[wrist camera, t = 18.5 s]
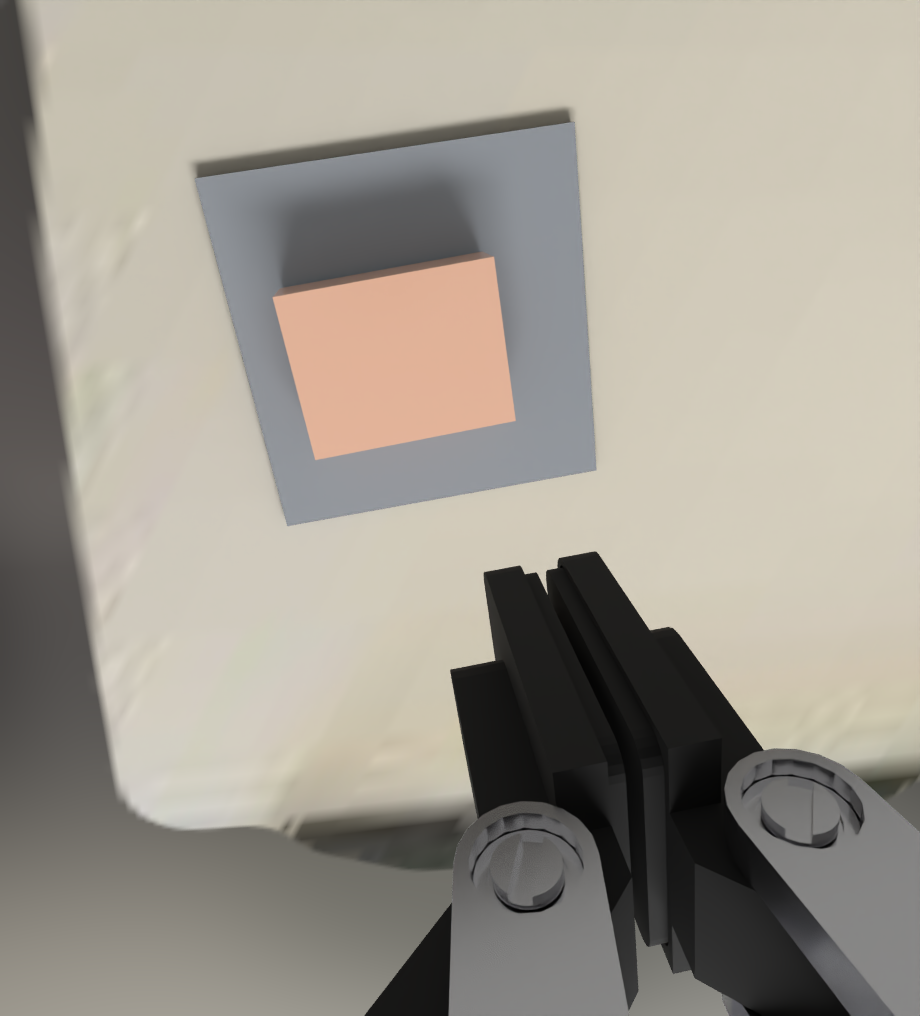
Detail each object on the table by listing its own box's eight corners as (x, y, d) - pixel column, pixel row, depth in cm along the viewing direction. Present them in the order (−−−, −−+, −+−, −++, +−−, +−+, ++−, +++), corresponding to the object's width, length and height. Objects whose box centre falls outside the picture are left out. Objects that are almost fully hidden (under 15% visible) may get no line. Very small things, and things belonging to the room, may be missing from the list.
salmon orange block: (494, 256, 29) (272, 297, 28) (515, 420, 32) (315, 460, 31) (481, 250, 32) (280, 287, 31) (502, 401, 35) (319, 436, 34)
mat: (571, 122, 31) (574, 121, 30) (593, 466, 37) (596, 470, 37) (197, 178, 30) (194, 178, 29) (288, 521, 36) (287, 526, 36)
